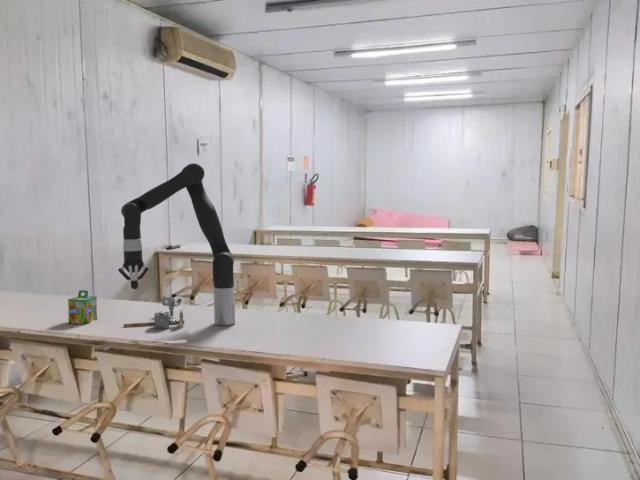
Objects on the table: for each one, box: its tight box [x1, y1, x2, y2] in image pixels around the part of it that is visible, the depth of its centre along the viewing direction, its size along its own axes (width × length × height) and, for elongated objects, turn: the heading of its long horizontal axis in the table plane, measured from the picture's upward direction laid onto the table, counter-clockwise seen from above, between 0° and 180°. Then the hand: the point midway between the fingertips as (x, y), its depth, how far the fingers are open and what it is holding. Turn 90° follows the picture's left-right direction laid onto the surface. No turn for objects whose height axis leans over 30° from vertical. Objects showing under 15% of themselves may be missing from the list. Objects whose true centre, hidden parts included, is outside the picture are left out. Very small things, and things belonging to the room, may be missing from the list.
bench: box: [123, 309, 185, 329], centre depth 232 cm, size 26×10×8 cm, turn 104°
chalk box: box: [67, 289, 98, 325], centre depth 247 cm, size 9×9×15 cm
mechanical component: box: [160, 296, 183, 317], centre depth 254 cm, size 3×10×10 cm, turn 79°
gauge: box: [153, 310, 177, 330], centre depth 232 cm, size 9×8×7 cm
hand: (134, 289), depth 228 cm, fingers closed
